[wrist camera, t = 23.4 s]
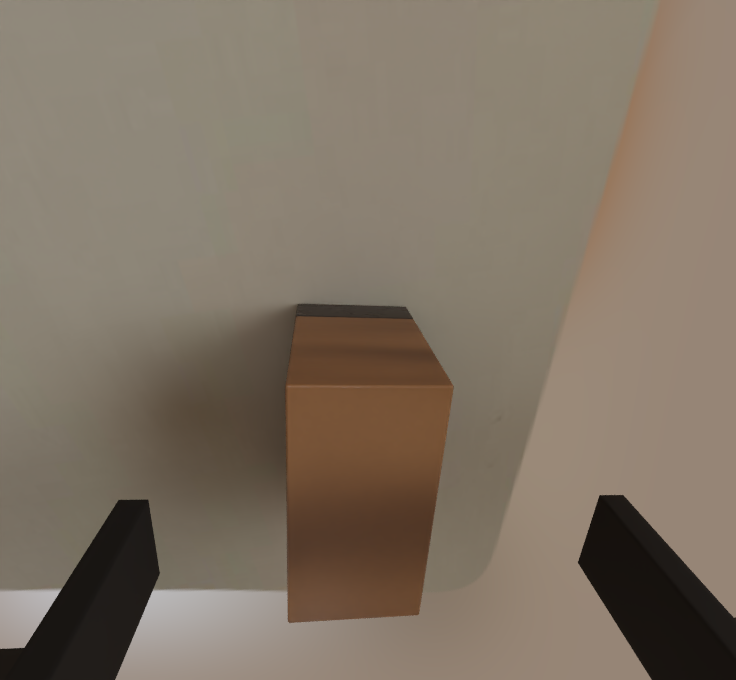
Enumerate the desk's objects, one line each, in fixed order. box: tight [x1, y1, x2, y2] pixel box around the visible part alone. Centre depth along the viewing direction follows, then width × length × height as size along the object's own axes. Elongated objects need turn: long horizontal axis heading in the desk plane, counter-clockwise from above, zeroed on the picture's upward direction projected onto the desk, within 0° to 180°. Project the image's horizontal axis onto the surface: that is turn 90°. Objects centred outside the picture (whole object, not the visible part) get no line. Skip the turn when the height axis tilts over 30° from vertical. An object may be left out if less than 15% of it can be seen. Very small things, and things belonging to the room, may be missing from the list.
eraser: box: [285, 304, 454, 623], centre depth 16 cm, size 9×4×7 cm, turn 176°
